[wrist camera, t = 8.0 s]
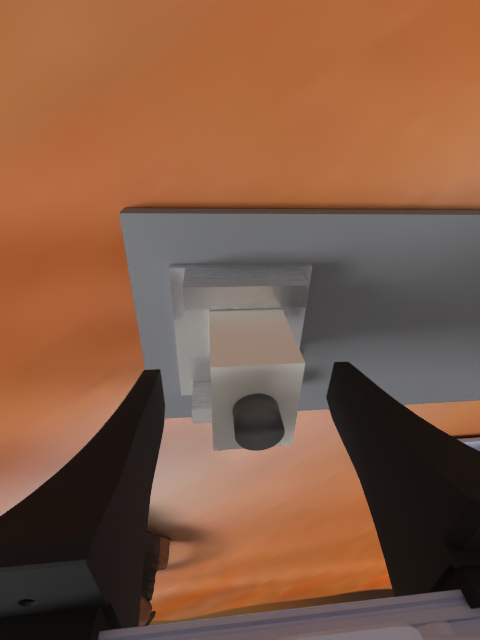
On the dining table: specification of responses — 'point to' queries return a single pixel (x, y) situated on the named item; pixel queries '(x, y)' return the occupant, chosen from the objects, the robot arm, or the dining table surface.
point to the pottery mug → (152, 573)
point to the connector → (253, 378)
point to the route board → (330, 291)
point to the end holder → (227, 293)
